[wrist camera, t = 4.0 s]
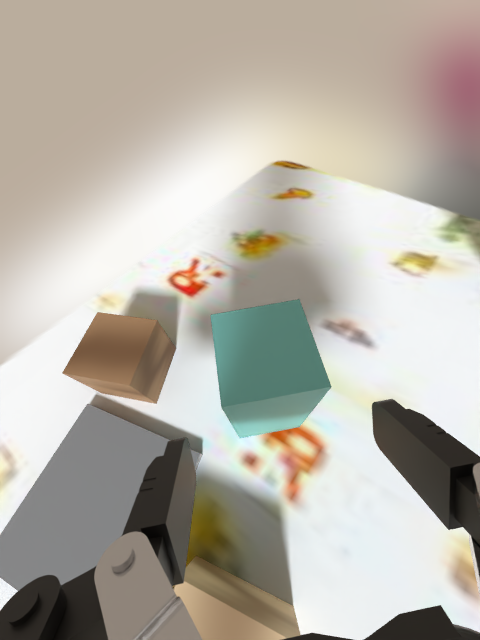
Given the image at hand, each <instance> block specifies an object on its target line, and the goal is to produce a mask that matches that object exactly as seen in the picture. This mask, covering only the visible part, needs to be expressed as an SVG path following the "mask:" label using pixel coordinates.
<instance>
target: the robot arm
mask: <svg viewBox="0 0 480 640" xmlns="http://www.w3.org/2000/svg"><path fill="white" fill-rule="evenodd" d="M372 416H373V434H374V438H375V441H376V443H377V445H378V447H379V449H380V450H381V451H382V452H383V454H384V455H385V456H386V457H387V458H388V459H389V461H390V462H391V463H392V464H393V465H394V466H395V468H396V469H397V470H398V471H399V472H400V473H401V475H402V476H403V477H404V478H405V479H406V481H407V482H408V483H409V484H410V485H411V486H412V488H413V489H414V490H415V491H416V492H417V493H418V495H419V496H420V497H421V498H422V499H423V500H424V502H425V503H426V504H427V505H428V506H429V508H430V509H431V510H432V511H433V512H434V513H435V515H436V516H437V517H438V518H439V519H440V520H441V522H442V523H443V524H444V525H445V526H446V527H447V529H448V530H450V529H455V528H460V527H464V529H465V530H466V531H467V532H468V533H469V543H470V549H471V554H472V559H473V564H474V569H475V575H476V580H477V585H478V590H479V595H480V457H479V456H478V455H477V454H475V453H474V452H473V451H471V450H470V449H469V448H467V447H466V446H465V445H463V444H462V443H461V442H459V441H458V440H457V439H455V438H454V437H453V436H451V435H450V434H448V433H446V432H445V431H444V430H443V429H442V428H440V427H439V426H436V424H435V423H434V422H432V421H431V420H430V419H428V418H427V417H426V416H424V415H422V414H420V413H418V412H415V411H413V410H411V409H405V408H404V407H402V406H401V405H400V404H399V403H397V402H396V401H395V400H393V399H389V400H384V401H378V402H374V403H373V404H372ZM195 488H196V472H195V466H194V462H193V458H192V454H191V450H190V446H189V442H188V439H187V438H182V439H176V440H171V441H168V443H167V446H166V449H165V452H164V455H163V456H158V457H156V458H155V459H154V460H153V461H152V463H151V464H150V465H149V466H148V468H147V470H146V472H145V475H144V478H143V482H142V483H141V486H140V488H139V493H138V494H137V496H136V499H135V502H134V504H133V507H132V510H131V512H130V515H129V518H128V520H127V523H126V526H125V528H124V531H123V534H122V536H121V537H119V538H118V539H117V540H115V541H114V542H113V543H112V544H111V545H110V546H109V547H108V548H107V549H106V550H105V552H104V553H103V555H102V556H101V558H100V560H99V561H98V564H97V566H95V567H94V568H92V569H90V570H89V571H87V572H85V573H83V574H81V575H79V576H78V577H76V578H74V579H72V580H70V581H68V582H66V583H64V584H63V585H61V584H60V582H59V580H58V578H57V577H56V576H54V575H44V576H41V577H39V578H37V579H35V580H33V581H31V582H30V583H28V584H27V585H25V586H24V587H23V588H21V589H20V590H19V591H18V592H17V593H16V594H15V595H14V596H13V597H12V598H11V599H10V600H9V601H8V602H7V603H6V604H5V605H4V607H3V608H2V609H1V611H0V640H202V638H201V636H200V634H199V632H198V630H197V628H196V626H195V624H194V622H193V620H192V618H191V616H190V614H189V612H188V610H187V608H186V607H185V605H184V603H183V601H182V599H181V598H180V597H179V596H178V597H177V596H176V594H175V592H174V590H173V588H172V586H173V585H178V584H183V583H184V576H185V568H186V560H187V552H188V544H189V536H190V528H191V520H192V512H193V504H194V496H195ZM282 640H352V639H346V638H340V637H334V636H328V635H322V634H316V633H309V634H305V635H300V636H296V637H291V638H286V639H282ZM364 640H480V633H479V632H477V631H474V630H472V629H469V628H465V627H462V626H459V625H454V624H452V622H451V621H450V619H449V618H448V616H447V614H446V613H445V611H444V610H443V608H442V607H441V605H439V606H434V607H430V608H425V609H421V610H416V611H411V612H407V613H402V614H399V615H397V616H396V617H395V618H393V619H392V620H391V621H389V622H388V623H386V624H385V625H384V626H382V627H381V628H380V629H378V630H377V631H376V632H374V633H373V634H372V635H370V636H369V637H367V638H366V639H364Z"/></svg>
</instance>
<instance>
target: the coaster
mask: <svg viewBox="0 0 480 640" xmlns="http://www.w3.org/2000/svg"><path fill="white" fill-rule="evenodd" d="M168 441H171V440H169V439H167V438H165V437H162V436H160V435H158V434H156V433H153V432H151V431H149V430H147V429H144V428H142V427H140V426H138V425H135V424H133V423H131V422H129V421H126V420H124V419H122V418H120V417H117V416H115V415H113V414H111V413H108V412H106V411H104V410H101V409H99V408H97V407H95V406H92V405H90V404H87V405H86V407H85V408H84V410H83V411H82V413H81V414H80V416H79V417H78V419H77V420H76V422H75V423H74V425H73V426H72V428H71V429H70V431H69V432H68V434H67V435H66V437H65V438H64V440H63V441H62V443H61V444H60V446H59V447H58V449H57V450H56V452H55V453H54V455H53V457H52V458H51V460H50V461H49V463H48V464H47V466H46V467H45V469H44V470H43V472H42V473H41V475H40V476H39V478H38V479H37V481H36V482H35V484H34V485H33V487H32V488H31V490H30V491H29V493H28V494H27V496H26V497H25V499H24V500H23V502H22V503H21V505H20V506H19V508H18V509H17V511H16V512H15V514H14V515H13V517H12V518H11V520H10V521H9V523H8V524H7V526H6V527H5V529H4V530H3V532H2V533H1V535H0V578H2V579H3V580H4V581H6V582H7V583H8V584H10V585H11V586H12V587H14V588H15V589H16V590H18V591H19V590H20V589H21V588H23V587H24V586H25V585H27V584H28V583H30V582H31V581H33V580H35V579H37V578H39V577H41V576H44V575H54V576H56V577H57V578H58V580H59V582H60V584H61V585H63V584H64V583H66V582H68V581H70V580H72V579H74V578H76V577H78V576H79V575H81V574H83V573H85V572H87V571H89V570H90V569H92V568H94V567H95V566H97V564H98V561H99V560H100V558H101V556H102V555H103V553H104V552H105V550H106V549H107V548H108V547H109V546H110V545H111V544H112V543H113V542H114V541H115V540H117V539H118V538H119V537H121V536H122V534H123V531H124V528H125V526H126V523H127V520H128V518H129V515H130V512H131V510H132V507H133V504H134V502H135V499H136V496H137V494H138V493H139V488H140V486H141V483H142V482H143V478H144V475H145V472H146V470H147V468H148V466H149V465H150V464H151V463H152V461H153V460H154V459H155V458H156V457H158V456H163V455H164V452H165V449H166V446H167V443H168ZM190 450H191V454H192V458H193V462H194V466H195V471H196V469H197V466H198V464H199V461H200V459H201V456H202V454H201V453H199V452H196V451H194V450H192V449H190Z"/></svg>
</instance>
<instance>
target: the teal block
mask: <svg viewBox="0 0 480 640" xmlns="http://www.w3.org/2000/svg"><path fill="white" fill-rule="evenodd" d="M211 323H212V331H213V340H214V348H215V357H216V365H217V374H218V382H219V390H220V399H221V407H222V409H223V411H224V412H225V414H226V416H227V417H228V419H229V421H230V422H231V424H232V426H233V428H234V429H235V431H236V433H237V434H238V436H239V438H244V437H249V436H254V435H260V434H265V433H270V432H276V431H281V430H286V429H291V428H297V427H300V425H301V424H302V423H303V422H304V420H305V419H306V418H307V417H308V415H309V414H310V413H311V412H312V411H313V409H314V408H315V407H316V406H317V404H318V403H319V402H320V401H321V399H322V398H323V397H324V396H325V394H326V393H327V392H328V391H329V389H330V388H331V384H330V382H329V379H328V376H327V373H326V371H325V368H324V365H323V363H322V360H321V357H320V354H319V352H318V349H317V346H316V343H315V341H314V338H313V335H312V332H311V330H310V327H309V324H308V322H307V319H306V316H305V313H304V311H303V308H302V305H301V302H300V300H299V299H298V300H292V301H286V302H281V303H275V304H269V305H264V306H258V307H252V308H247V309H241V310H235V311H230V312H224V313H218V314H213V315H211Z"/></svg>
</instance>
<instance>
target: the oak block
mask: <svg viewBox="0 0 480 640" xmlns="http://www.w3.org/2000/svg"><path fill="white" fill-rule="evenodd" d="M174 592H175V594H176V596H177V597H178V596H179V597H180V598H181V599H182V601H183V603H184V605H185V607H186V608H187V610H188V612H189V614H190V616H191V618H192V620H193V622H194V624H195V626H196V628H197V630H198V632H199V634H200V636H201V638H202V640H282V639H286V638H291V637H296V636H300V631H299V627H298V623H297V619H296V615H295V611H294V606H292V605H290V604H288V603H287V602H285V601H283V600H281V599H279V598H277V597H275V596H273V595H271V594H269V593H267V592H265V591H263V590H262V589H260V588H258V587H256V586H254V585H252V584H250V583H248V582H246V581H244V580H242V579H240V578H238V577H236V576H235V575H233V574H231V573H229V572H227V571H225V570H223V569H221V568H219V567H217V566H215V565H213V564H211V563H210V562H208V561H206V560H204V559H202V558H200V557H198V556H195V557H194V558H193V560H192V561H191V562H190V563H189V564H188V566H187V567H186V568H185V576H184V583H183V584H178V585H175V587H174Z"/></svg>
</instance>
